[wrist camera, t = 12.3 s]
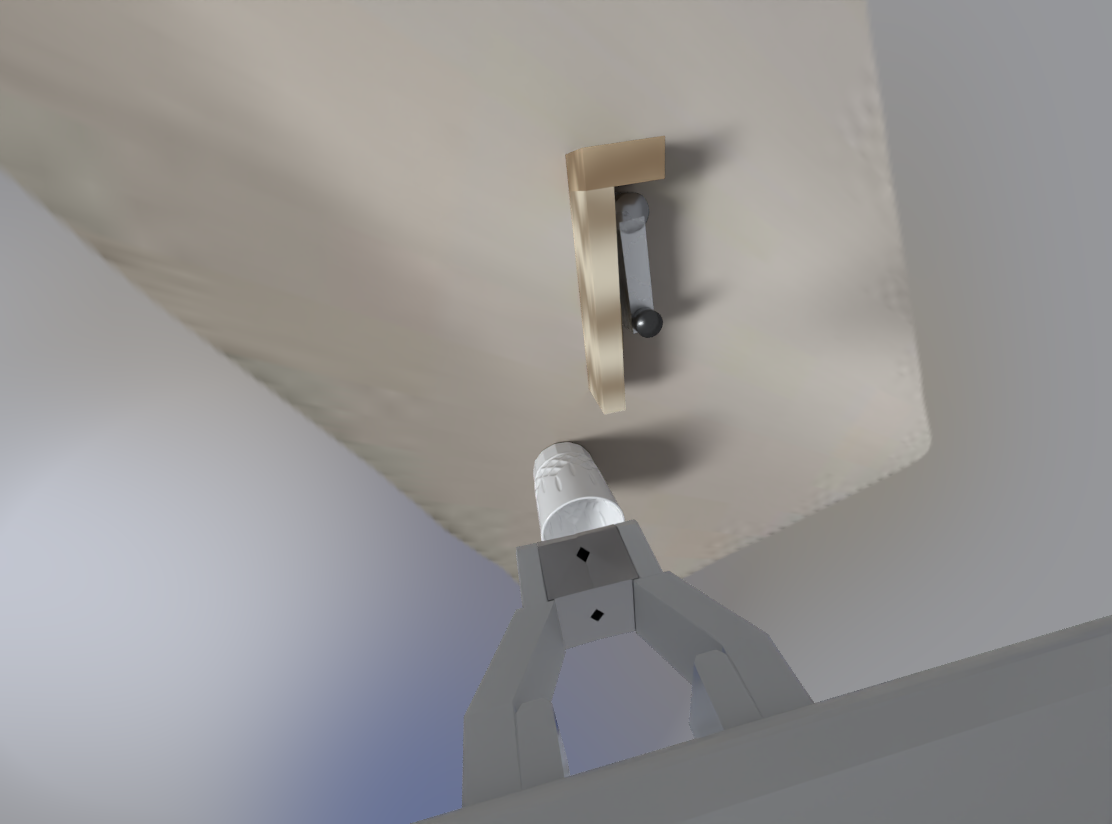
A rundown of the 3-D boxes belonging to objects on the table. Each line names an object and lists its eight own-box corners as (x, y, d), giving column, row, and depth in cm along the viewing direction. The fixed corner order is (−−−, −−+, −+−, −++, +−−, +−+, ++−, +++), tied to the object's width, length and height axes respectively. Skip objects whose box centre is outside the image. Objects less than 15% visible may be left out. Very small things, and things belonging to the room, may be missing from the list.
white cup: (602, 480, 47) (631, 544, 39) (539, 502, 47) (554, 571, 39) (587, 427, 43) (615, 485, 35) (518, 451, 43) (530, 515, 35)
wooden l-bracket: (565, 154, 31) (582, 147, 26) (635, 144, 31) (664, 135, 27) (589, 389, 41) (604, 414, 36) (642, 378, 42) (663, 401, 37)
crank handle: (597, 197, 32) (617, 198, 28) (630, 188, 32) (654, 187, 28) (616, 324, 38) (635, 341, 33) (644, 316, 38) (667, 332, 34)
